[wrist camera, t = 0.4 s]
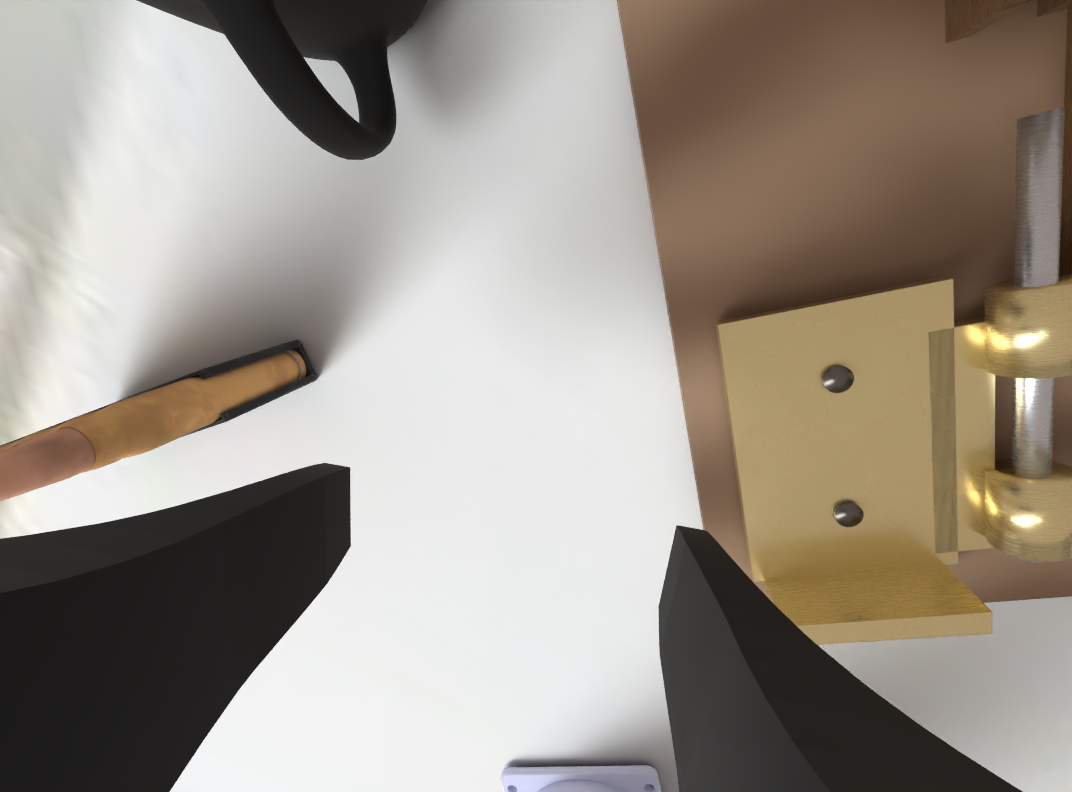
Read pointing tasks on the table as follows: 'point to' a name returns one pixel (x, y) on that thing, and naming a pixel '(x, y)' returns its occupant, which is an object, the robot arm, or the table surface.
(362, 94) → the mug
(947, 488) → the leaf
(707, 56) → the plank
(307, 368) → the ammunition clip
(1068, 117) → the hinge base
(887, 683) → the table surface
